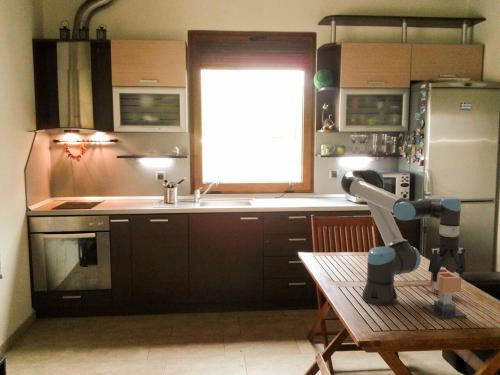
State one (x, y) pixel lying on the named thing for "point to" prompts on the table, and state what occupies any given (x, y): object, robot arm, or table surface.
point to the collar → (448, 282)
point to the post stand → (444, 307)
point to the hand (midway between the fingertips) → (445, 288)
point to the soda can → (431, 281)
